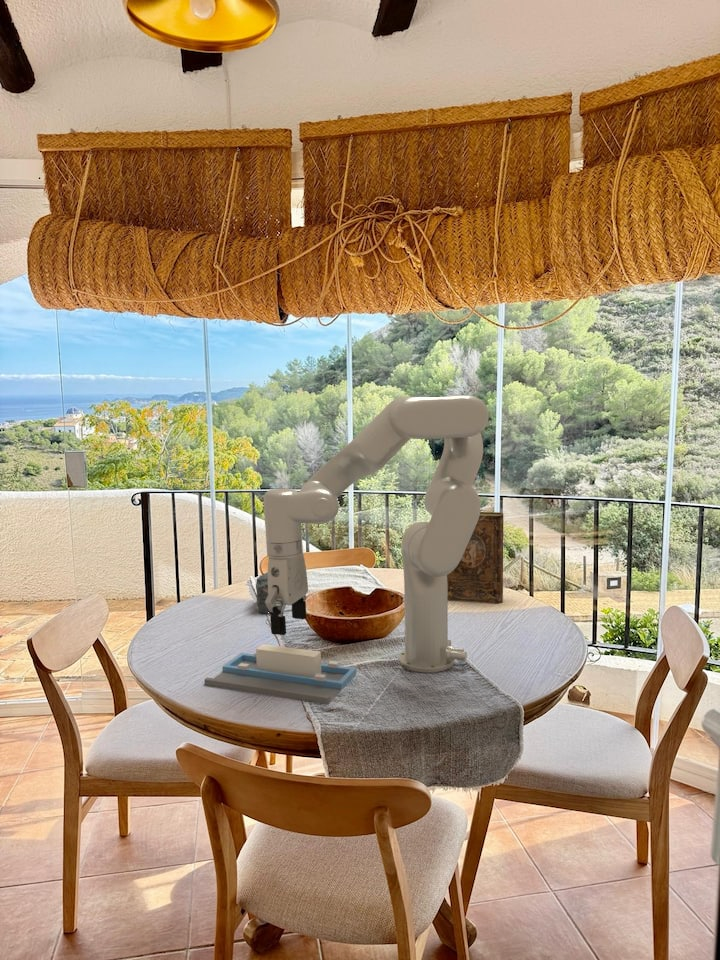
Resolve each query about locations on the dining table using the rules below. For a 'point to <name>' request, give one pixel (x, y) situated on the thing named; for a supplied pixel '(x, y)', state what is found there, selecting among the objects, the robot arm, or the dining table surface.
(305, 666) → the bar
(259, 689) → the board
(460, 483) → the robot arm
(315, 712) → the dining table surface
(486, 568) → the book
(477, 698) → the dining table surface
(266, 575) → the stone
